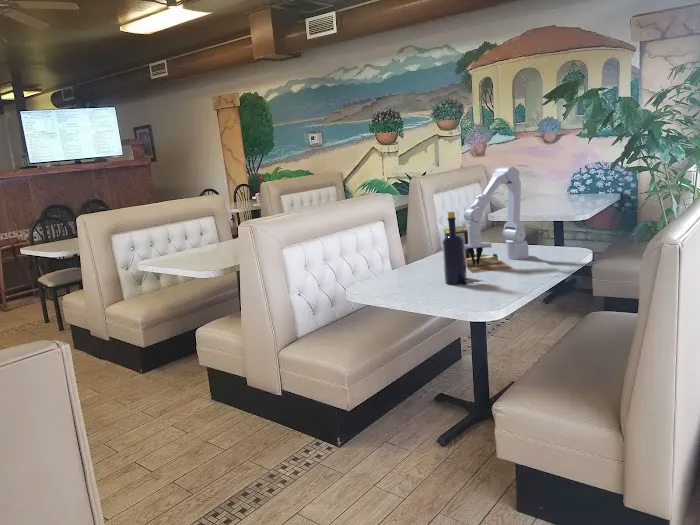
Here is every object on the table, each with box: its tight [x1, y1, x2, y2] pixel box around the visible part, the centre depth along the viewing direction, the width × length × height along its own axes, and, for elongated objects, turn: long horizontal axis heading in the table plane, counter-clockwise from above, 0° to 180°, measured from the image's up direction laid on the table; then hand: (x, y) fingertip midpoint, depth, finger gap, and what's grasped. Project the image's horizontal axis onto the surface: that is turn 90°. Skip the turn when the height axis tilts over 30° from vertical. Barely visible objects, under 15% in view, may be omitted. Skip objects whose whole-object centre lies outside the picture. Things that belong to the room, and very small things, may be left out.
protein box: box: [443, 225, 471, 258], centre depth 278 cm, size 10×15×16 cm
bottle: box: [442, 210, 468, 286], centre depth 234 cm, size 9×9×30 cm
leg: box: [465, 253, 499, 266], centre depth 258 cm, size 14×3×4 cm, turn 91°
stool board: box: [466, 260, 514, 274], centre depth 254 cm, size 18×18×1 cm
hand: (476, 264), depth 255 cm, fingers closed
